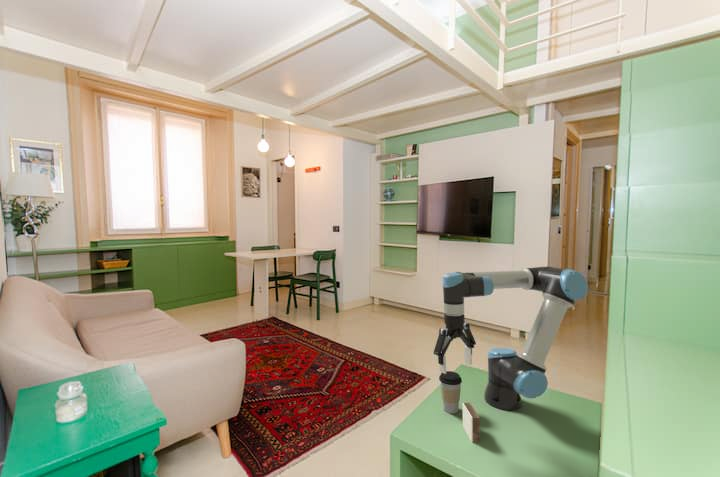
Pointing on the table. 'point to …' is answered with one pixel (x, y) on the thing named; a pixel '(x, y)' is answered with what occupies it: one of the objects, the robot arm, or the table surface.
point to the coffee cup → (450, 391)
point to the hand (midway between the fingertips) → (456, 367)
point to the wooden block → (471, 422)
